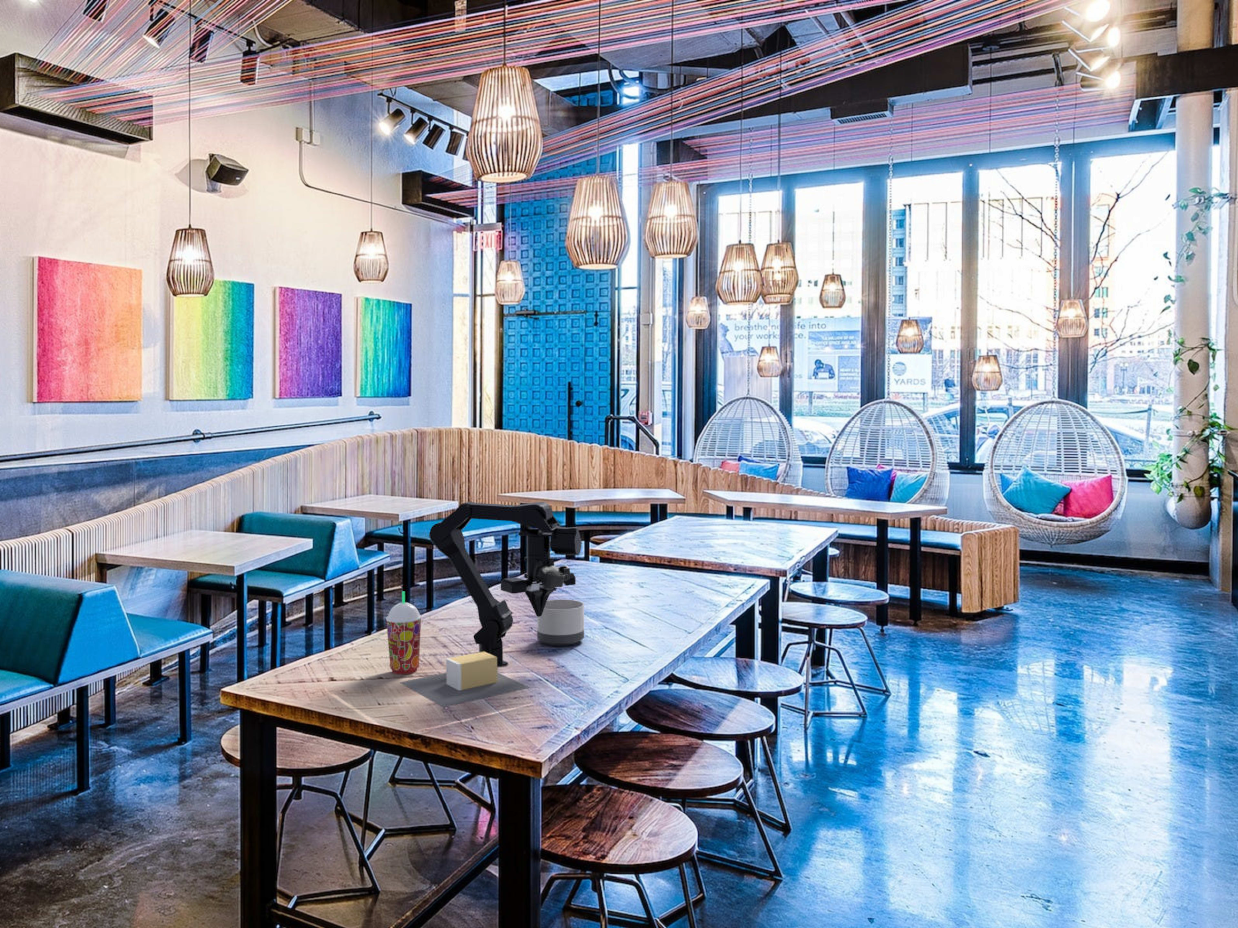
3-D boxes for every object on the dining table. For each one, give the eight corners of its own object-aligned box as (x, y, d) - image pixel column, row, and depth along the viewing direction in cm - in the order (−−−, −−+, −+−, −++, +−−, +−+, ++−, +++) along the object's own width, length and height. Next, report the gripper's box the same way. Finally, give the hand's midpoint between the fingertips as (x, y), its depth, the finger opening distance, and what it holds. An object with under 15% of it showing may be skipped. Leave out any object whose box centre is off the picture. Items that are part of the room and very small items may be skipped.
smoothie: (384, 669, 229) (383, 589, 227) (418, 665, 232) (417, 586, 230) (390, 679, 221) (388, 596, 219) (425, 675, 224) (424, 593, 223)
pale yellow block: (446, 658, 215) (484, 651, 221) (446, 683, 216) (484, 676, 222) (458, 664, 210) (496, 656, 217) (459, 690, 211) (497, 682, 217)
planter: (556, 651, 246) (556, 612, 245) (527, 641, 255) (527, 603, 254) (593, 642, 254) (593, 604, 253) (564, 633, 264) (564, 597, 263)
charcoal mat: (399, 684, 217) (399, 682, 217) (482, 667, 231) (482, 665, 231) (443, 709, 200) (443, 706, 200) (530, 689, 213) (530, 687, 213)
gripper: (523, 562, 216) (524, 628, 217) (588, 554, 228) (588, 616, 229) (499, 555, 225) (499, 619, 226) (562, 548, 236) (563, 608, 237)
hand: (538, 616), depth 229 cm, fingers closed
